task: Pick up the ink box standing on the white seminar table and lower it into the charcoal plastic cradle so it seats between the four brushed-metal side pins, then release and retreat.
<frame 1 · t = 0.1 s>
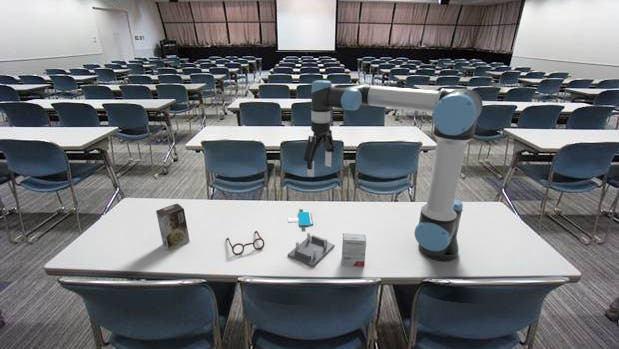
hand: (319, 170, 137), 28 cm above the table, fingers open, 13 cm apart
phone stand: (300, 221, 154), on the table
ink box: (352, 263, 125), on the table
coffee box: (176, 243, 136), on the table
cradle: (311, 251, 131), on the table
glasses: (245, 244, 136), on the table
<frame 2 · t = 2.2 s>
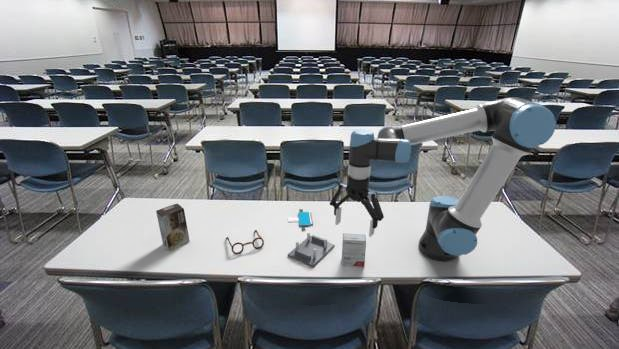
hand: (354, 229, 119), 15 cm above the table, fingers open, 13 cm apart
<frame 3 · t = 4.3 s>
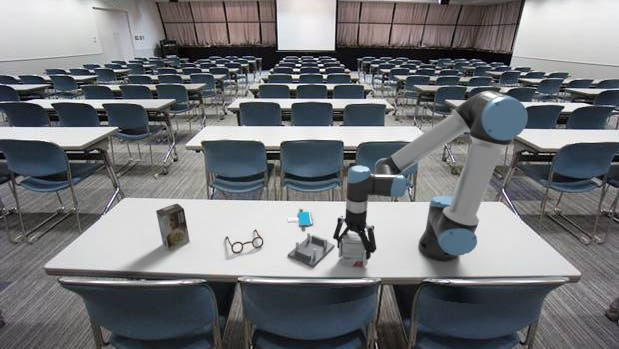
hand: (352, 260, 124), 1 cm above the table, fingers closed on ink box, 9 cm apart
ink box: (352, 263, 125), on the table, touching gripper
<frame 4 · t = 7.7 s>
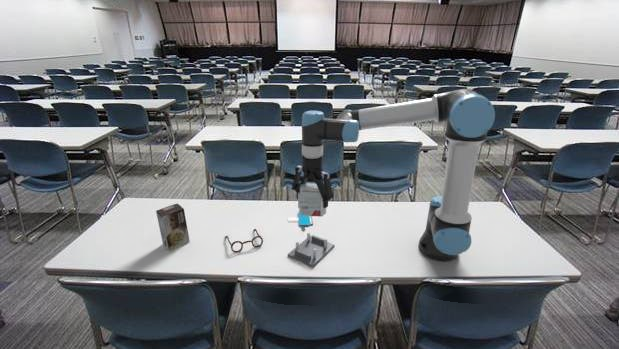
hand: (311, 210, 124), 19 cm above the table, fingers closed on ink box, 9 cm apart
ink box: (311, 213, 124), point 17 cm above the table, touching gripper
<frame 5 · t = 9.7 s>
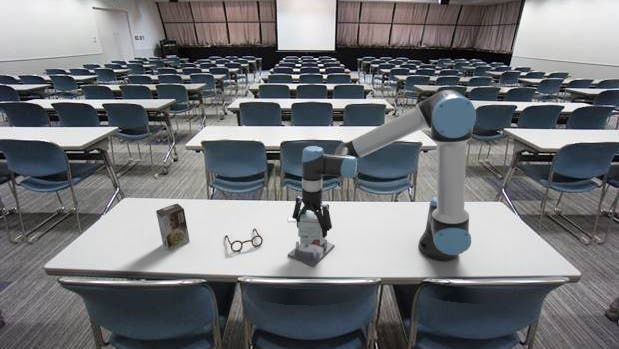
hand: (311, 239, 129), 6 cm above the table, fingers closed on ink box, 9 cm apart
ink box: (311, 241, 129), point 5 cm above the table, touching gripper
when the fingers open (4 cm above the table, at t = 11.2 s): ink box drops 1 cm, resting on cradle.
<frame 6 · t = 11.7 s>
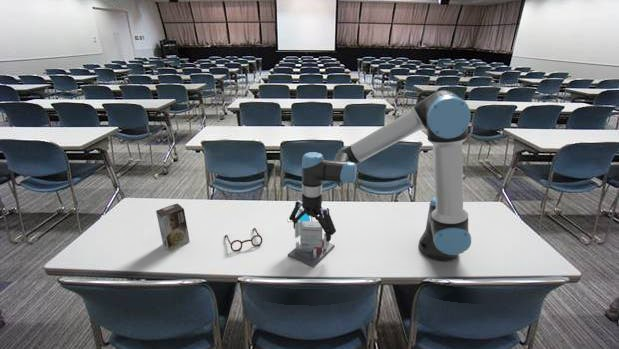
hand: (311, 241, 129), 5 cm above the table, fingers open, 13 cm apart
ink box: (311, 249, 131), point 1 cm above the table, touching cradle
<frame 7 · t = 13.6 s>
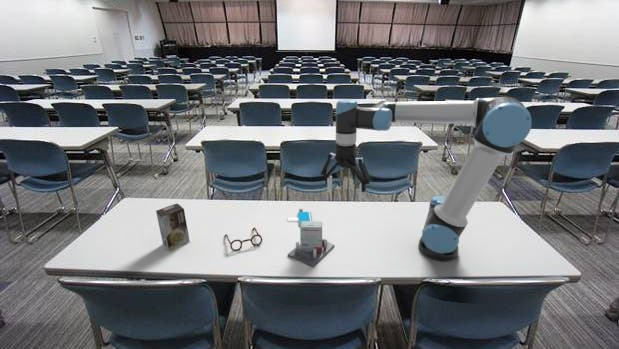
hand: (345, 195, 127), 23 cm above the table, fingers open, 13 cm apart
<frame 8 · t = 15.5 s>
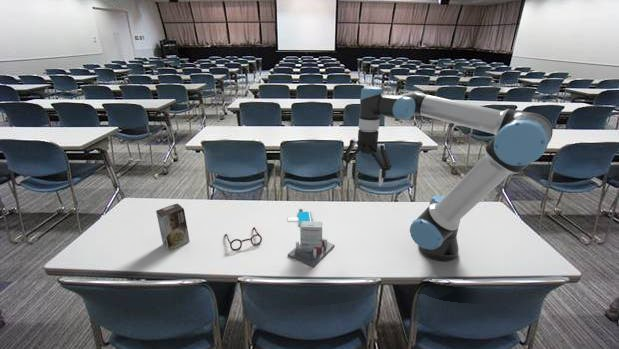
hand: (364, 181, 130), 27 cm above the table, fingers open, 13 cm apart
at the end: ink box 0.2 cm off-centre on the cradle, point 0.8 cm above the cradle's base; ink box tilted 0°; the gripper is holding nothing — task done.
